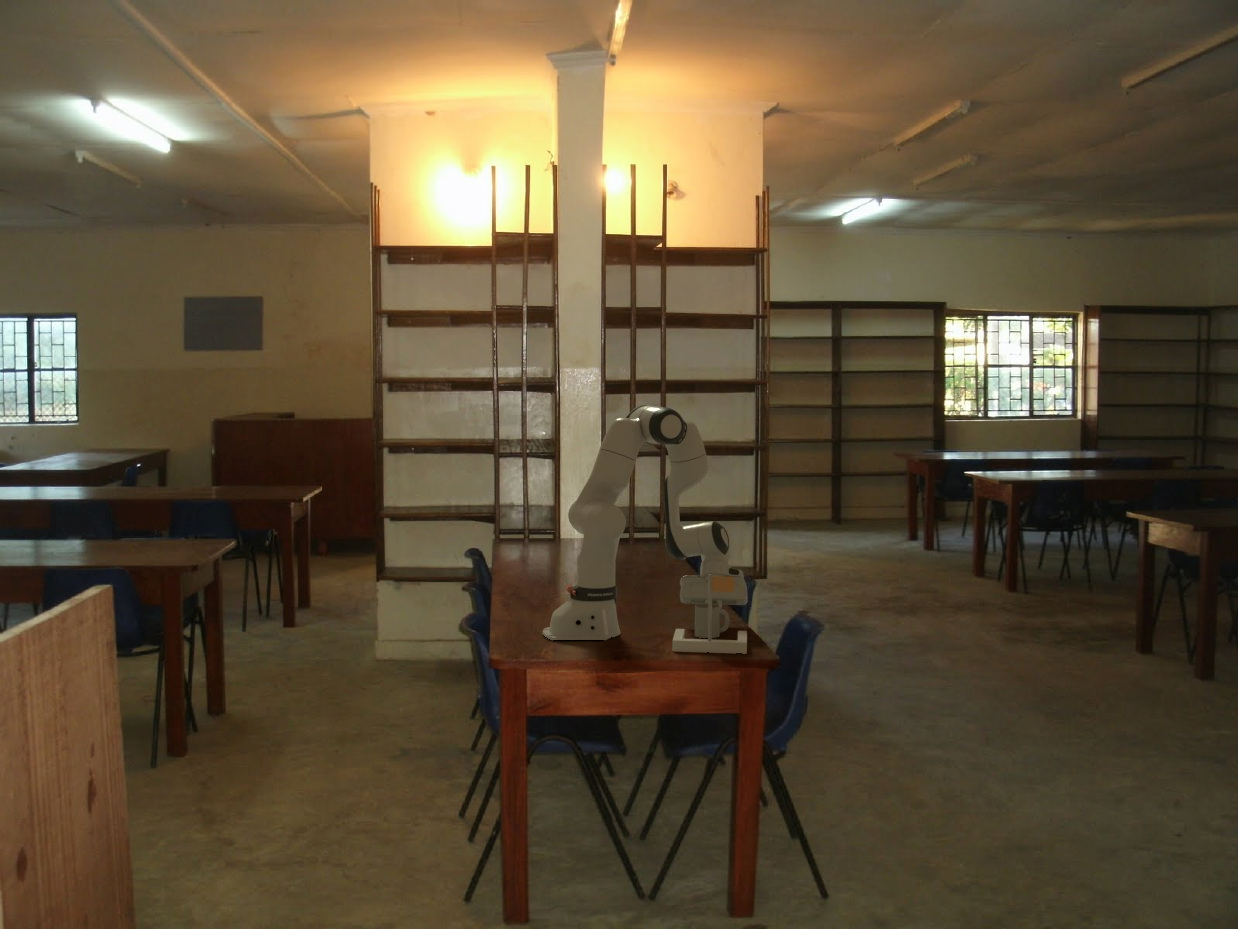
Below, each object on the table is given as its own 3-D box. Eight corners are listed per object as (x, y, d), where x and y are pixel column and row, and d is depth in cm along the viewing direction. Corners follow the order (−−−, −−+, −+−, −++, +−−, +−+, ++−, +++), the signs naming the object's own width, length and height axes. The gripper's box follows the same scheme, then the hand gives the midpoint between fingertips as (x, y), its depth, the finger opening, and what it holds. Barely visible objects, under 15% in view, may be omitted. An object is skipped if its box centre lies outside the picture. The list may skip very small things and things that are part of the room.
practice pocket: (675, 639, 306) (676, 565, 305) (746, 641, 304) (747, 567, 303) (672, 651, 292) (672, 574, 291) (746, 653, 290) (747, 576, 288)
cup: (693, 633, 314) (694, 603, 313) (728, 633, 314) (728, 603, 313) (695, 639, 307) (695, 608, 306) (730, 639, 307) (731, 608, 306)
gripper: (679, 569, 327) (677, 607, 318) (747, 571, 325) (747, 609, 316) (680, 581, 332) (678, 619, 323) (747, 583, 329) (747, 621, 320)
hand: (713, 614), depth 319 cm, fingers closed
